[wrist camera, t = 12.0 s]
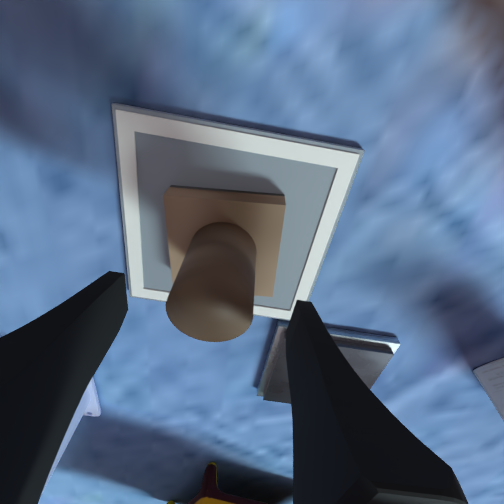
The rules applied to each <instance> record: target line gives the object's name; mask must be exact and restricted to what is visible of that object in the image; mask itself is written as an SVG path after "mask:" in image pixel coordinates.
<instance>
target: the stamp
mask: <svg viewBox="0 0 504 504" xmlns="http://www.w3.org/2000/svg"><path fill="white" fill-rule="evenodd" d="M163 200H164V209H165V219H166V228H167V237H168V246H169V256H170V265H171V274H172V283H173V286H172V288H171V291H170V293H169V295H168V298H167V301H166V312H167V315H168V317H169V319H170V321H171V322H172V324H173V325H174V326H175V327H176V328H177V329H178V330H180V331H181V332H183V333H184V334H186V335H188V336H190V337H192V338H195V339H198V340H202V341H208V342H222V341H227V340H231V339H234V338H236V337H238V336H240V335H241V334H243V333H244V332H245V331H246V330H247V329H248V328H249V326H250V325H251V323H252V320H253V309H254V296H266V297H273V291H274V284H275V277H276V270H277V263H278V256H279V249H280V242H281V235H282V228H283V221H284V214H285V207H286V203H285V195H284V194H276V193H263V192H251V191H239V190H227V189H214V188H202V187H190V186H177V185H171V186H170V187H169V188H168V189H167V191H166V192H165V193H164V195H163Z"/></svg>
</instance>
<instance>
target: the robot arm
mask: <svg viewBox="0 0 504 504" xmlns="http://www.w3.org/2000/svg"><path fill="white" fill-rule="evenodd" d="M127 311H128V304H127V294H126V284H125V274H124V273H119V272H112V271H109V272H107V273H106V274H104V275H103V276H101V277H100V278H98V279H97V280H95V281H94V282H93V283H91V284H90V285H88V286H87V287H85V288H84V289H82V290H81V291H79V292H78V293H76V294H75V295H73V296H72V297H70V298H69V299H67V300H66V301H64V302H63V303H61V304H60V305H58V306H56V307H55V308H53V309H52V310H50V311H48V312H47V313H45V314H43V315H42V316H40V317H38V318H37V319H35V320H33V321H31V322H30V323H28V324H26V325H24V326H22V327H20V328H19V329H17V330H15V331H13V332H11V333H9V334H7V335H5V336H3V337H1V338H0V504H38V502H39V499H40V497H41V495H42V493H43V491H44V489H45V487H46V485H47V484H48V482H49V480H50V478H51V476H52V474H53V472H54V470H55V468H56V466H57V464H58V462H59V460H60V458H61V457H62V455H63V453H64V451H65V449H66V447H67V445H68V443H69V441H70V439H71V437H72V435H73V433H74V431H75V430H76V428H77V426H78V424H79V422H80V420H81V418H82V416H83V415H87V416H95V417H97V416H99V415H100V414H101V408H100V404H99V399H98V395H97V391H96V387H95V383H94V379H93V375H94V374H95V372H96V370H97V369H98V367H99V365H100V363H101V362H102V360H103V358H104V356H105V355H106V353H107V351H108V350H109V348H110V346H111V344H112V343H113V341H114V339H115V337H116V336H117V334H118V332H119V330H120V328H121V325H122V323H123V321H124V318H125V316H126V313H127ZM286 362H287V371H288V380H289V388H290V397H291V405H292V417H293V504H468V502H467V499H466V497H465V495H464V493H463V490H462V488H461V486H460V484H459V482H458V480H457V478H456V476H455V474H454V472H453V470H452V468H451V467H450V466H449V465H447V464H446V463H445V462H444V461H443V460H442V459H441V458H439V457H438V456H437V455H436V454H435V453H434V452H432V451H431V450H430V449H429V448H428V447H427V446H425V445H424V444H423V443H422V442H421V441H420V440H419V439H418V438H416V437H415V436H414V435H413V434H412V433H411V432H410V431H409V430H408V429H407V428H406V427H405V426H404V425H403V424H402V423H401V422H400V421H399V420H398V419H397V418H396V417H395V416H394V415H393V414H392V413H391V412H390V411H389V410H388V409H387V408H386V407H385V406H384V405H383V404H382V402H381V401H380V400H379V399H378V398H377V397H376V396H375V395H374V394H373V393H372V391H371V390H370V389H369V388H368V387H367V386H366V384H365V383H364V382H363V381H362V379H361V378H360V377H359V376H358V375H357V373H356V372H355V371H354V369H353V368H352V367H351V365H350V364H349V362H348V361H347V360H346V358H345V357H344V355H343V354H342V352H341V351H340V349H339V348H338V346H337V345H336V343H335V342H334V340H333V338H332V337H331V335H330V334H329V332H328V330H327V329H326V327H325V325H324V323H323V322H322V320H321V318H320V316H319V315H318V313H317V311H316V309H315V307H314V306H313V304H312V302H309V301H302V300H297V301H296V304H295V307H294V310H293V313H292V316H291V319H290V322H289V325H288V328H287V330H286Z"/></svg>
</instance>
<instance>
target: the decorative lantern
mask: <svg viewBox="0 0 504 504" xmlns="http://www.w3.org/2000/svg"><path fill="white" fill-rule="evenodd" d="M167 504H175V502H173V501H169V502H168V503H167ZM187 504H268V503H264V502H260V501H256V500H251V499H247V498H243V497H239V496H235V495H231V494H227V493H224V492H222V491H221V490H219V488H218V487H217V467H216V464H215V463H214V462H211V463H209V464H208V465H207V467H206V470H205V473H204V477H203V482H202V486H201V489H200V491H199V493H198V494H197V495H196V496H195V497H194V498H193V499H192V500H191V501H189V502H188V503H187Z"/></svg>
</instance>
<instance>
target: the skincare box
mask: <svg viewBox="0 0 504 504" xmlns="http://www.w3.org/2000/svg"><path fill="white" fill-rule="evenodd" d="M473 372H474V374H475V376H476V377H477V379H478V380H479V382H480V384H481V385H482V387H483V389H484V390H485V392H486V393H487V395H488V397H489V398H490V400H491V401H492V403H493V405H494V406H495V408H496V410H497V411H498V413H499V414H500V416H501V418H502V419H503V421H504V358H501V359H498V360H496V361H493V362H490V363H488V364H485V365H483V366H480V367H478V368H476V369H475V370H474V371H473Z"/></svg>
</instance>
